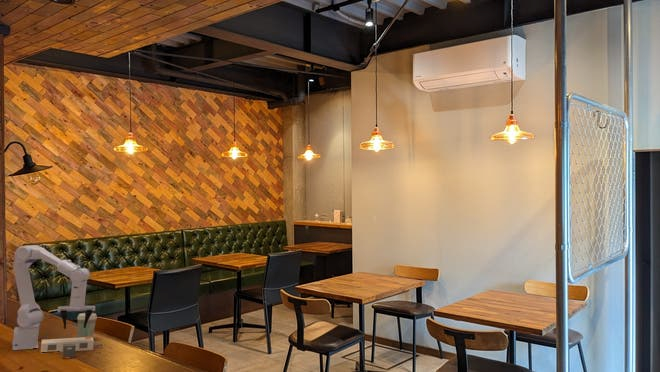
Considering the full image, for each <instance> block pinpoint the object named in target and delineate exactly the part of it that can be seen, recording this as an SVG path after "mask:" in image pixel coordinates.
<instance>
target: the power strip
mask: <svg viewBox="0 0 660 372" xmlns="http://www.w3.org/2000/svg"><path fill="white" fill-rule="evenodd" d="M71 343H75V344H76V349H75V352H83V351H94V347H103V343H95V340H94V337H82V338H78V337H67V338H65V337H64V338H50V339H47V338H46V339H41V343H40V353H41V352H47V351H60V352H59V353H63V344H71Z"/></svg>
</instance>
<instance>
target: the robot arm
mask: <svg viewBox="0 0 660 372" xmlns="http://www.w3.org/2000/svg"><path fill="white" fill-rule="evenodd" d="M13 254H14V260H13V264H12V265H13V267H12V268H13V273H14V278H15V284H16V288H17V293H18V298H19V303H20V307H19V308H18V310H17V318H16V322H17V325H18V326H16V327H14V331H13V340H11V341H12V342H11V346H12V347H11V348H12V351H20V350H21V351H22V350H34V349H33V348H37V349H39V341H38V340H39V333H40V331H39V330H40V325H41V322H43V320H44V318H45V317H44V316H45V315H44V312H43V310H41V307H40V305H39V304H38V303H36V300H35V294H34V289H33V284H32V280H31V279H32V278H31V275H30V269H29V268H30V267H31V265H32V264H33V263H34V262H36V261H37V260H42V261H43V262H46V263H48V264H50V265H52V266H54V267H56V270H57V271H58V272H59V273H61V274H63V275H64V276H66V277H68V278H69V279H70V281H71V292H70V302H69V305H64V306H58V307H57V313H60V316H61V319H62V323H63V329H64V330H66V329H67V318H68V317H67V316H68V312H84V313H85V321H84V328H86V324H87V322H88V320H89V318H90V316H91V314H92V313H93V312H96V306H95V305H86V304H85V302H86V292H87V283H88V280H89V279H90V277H91V272H90V270H89V269H88V268H86V267H81V266H80V265H76V264H75V263H73V262H72V260H71V259H60V258H59V257H58V256H56V255H55V254H52V252H49V251H48V250H46V248H45V247H41V246H40V245H38V244H33V245H21V246H19V247H18V248H17V249H16V250H15V252H14V253H13Z"/></svg>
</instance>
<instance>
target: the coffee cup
mask: <svg viewBox="0 0 660 372" xmlns="http://www.w3.org/2000/svg"><path fill="white" fill-rule="evenodd" d="M76 319H77V338H82V337H93V336H94V331H95V326H96V321H97V319H98V316H97V313H95V312H92V314H91V316H90V318H89V320H88V322H87V324H86V328H84V321H85V312H83V313H78V316H77V318H76ZM93 338H94V337H93Z"/></svg>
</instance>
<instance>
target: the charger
mask: <svg viewBox="0 0 660 372" xmlns="http://www.w3.org/2000/svg"><path fill="white" fill-rule="evenodd" d="M75 349H76V344H75V343H71V344H63V352H61V353H62V354H61V355H62V356H63V358H65V357H71V358H70V359H75V357H76V351H75ZM62 356H61V357H62Z"/></svg>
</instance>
